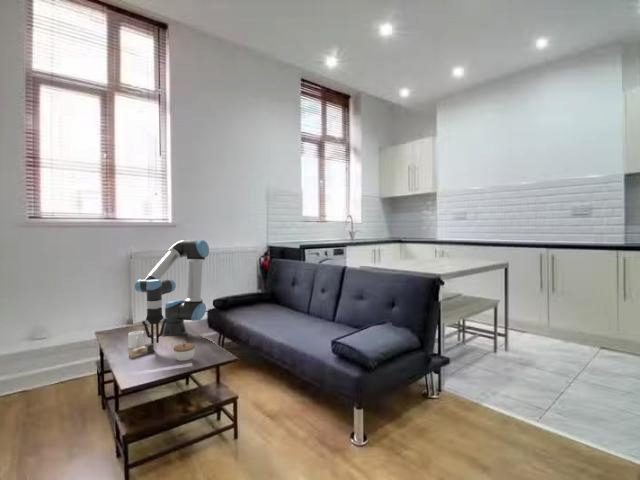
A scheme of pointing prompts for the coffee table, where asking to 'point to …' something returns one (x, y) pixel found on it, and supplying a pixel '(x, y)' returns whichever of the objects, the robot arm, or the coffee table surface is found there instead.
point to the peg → (141, 350)
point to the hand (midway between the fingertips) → (155, 348)
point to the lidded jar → (184, 351)
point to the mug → (135, 339)
